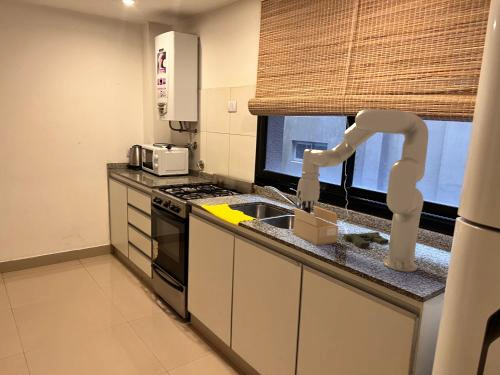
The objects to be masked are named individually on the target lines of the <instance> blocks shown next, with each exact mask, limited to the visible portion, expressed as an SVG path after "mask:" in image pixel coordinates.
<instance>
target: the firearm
mask: <svg viewBox="0 0 500 375" xmlns="http://www.w3.org/2000/svg"><path fill="white" fill-rule="evenodd" d="M342 238H343V240H344V241H346V242H351V243H353V244H354V245H355V246H356V247H358V248H359V249H368V248H370V245H371V244H370V243H369V242H373V243H375V244H378V245H385V244H389V242H390V239H387V238H386V237H383V236H382V235H380V232H379V231H375V232H374V231H373V232H362V233H346V234H345V233H344V234H342Z"/></svg>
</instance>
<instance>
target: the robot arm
mask: <svg viewBox="0 0 500 375" xmlns="http://www.w3.org/2000/svg"><path fill="white" fill-rule="evenodd" d="M354 121H355V122H354V123H353V124H352V125H351V126H349V127H348V128H347V129H346V130H344V132H343V136H344V137H343V140H342V141H341V142H340V143H339V144H338V145H337V146H335V147H334V148H333V149H324V150H323V149H322V150H319V149H316V148H313V149H312V148H307V149H304V151H303V155H302V156H303V157H302V167H301V168H302V169H301V178H300V179H299V180H298V183H297V184H298V185H297V189H296V199H297V204H301V205H302V207H303V210H302V211H305V212H308V213H310V214H312V213H311V210H312V208H313V206H314V204H316V203H318V200H319V199H320V190H321V188H320V179H319V178H320V176H321V174H320V173H319V172H320V168H332V167H333V168H334V167H337V166H339V165H341V164H342V163H343V162H344V161H346V160H347V159H348V158H350V157H351V156H352V155H353V154H354V152H355V151H357V149H358V147H360V146H361V145H362V144H364V143H365V142H366V141H367V140H368V139H370V138H371V137H372V136H373V137H374V135H375V134H377V133H379V134H380V133H381V134H382V133H383V134H390V135H391V134H393V135H403V136H404V141H403V143H402V147H401V148H402V149H401V158H400V159H399V160H397V161H396V162H394V163H393V165H392V166H391V168H390V172H389V177H388V183H387V192H386V205H387V207H388V209H389V210H390V211H391V212H392V213H393V215H392V220H391V227H390V233H389V234H390V237H389V241H388V245H389V246H388V252H387V257H386V258H384V259H382V264H383V266H385V267H386V268H389V269H391V270H395V271H399V272H404V273H408V272H409V273H412V272H415V271H417V270H418V265H417V264H416V263H415V262H414V261H415V252H416V245H417V240H418V239H417V238H418V231H419V227H420V226H419V225H420V218H421V214H422V210H423V206H424V196H423V194H422V191H421V190H420V189H419V188H417V187H416V186H417V183H418V182H421V180H423V178H424V176H425V171H426V162H427V154H428V145H429V128H428V126H427V124H426V122H425V121H424V119H422V117H420V116H418V115H417V114H415V113H412V112H410V111H405V110H397V109H377V108H376V109H375V108H364V109H361V110H360V111H359V112H358V113H357V114H356V116H355V119H354Z"/></svg>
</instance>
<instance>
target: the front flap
mask: <svg viewBox="0 0 500 375" xmlns="http://www.w3.org/2000/svg"><path fill="white" fill-rule="evenodd" d="M293 212H294V218H298V219H300V220H303V221H305V222H307V223H310V224H312V225H315V226H318V225H317V220H316V218H317V217H316V215H314V213H308V212H305V211H303V210H301V209H300V208H297V207H293Z"/></svg>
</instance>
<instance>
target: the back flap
mask: <svg viewBox="0 0 500 375" xmlns="http://www.w3.org/2000/svg"><path fill="white" fill-rule="evenodd" d="M312 209H313V215H316V218H318V219H321V220H324V221H326V222H329V223H332V224H334V225H338V216H337V213H336V212H333V211H330V210H327V209H324V208H321V207H319V206H316V205H312Z"/></svg>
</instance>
